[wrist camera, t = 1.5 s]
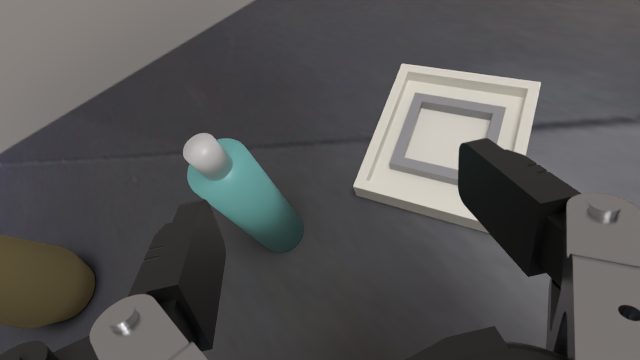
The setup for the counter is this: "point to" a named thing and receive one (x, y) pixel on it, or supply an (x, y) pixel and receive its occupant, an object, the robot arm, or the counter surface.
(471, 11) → the counter surface
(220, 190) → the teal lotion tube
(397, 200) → the tray
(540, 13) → the counter surface
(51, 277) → the squeeze bottle
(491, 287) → the counter surface
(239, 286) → the counter surface
